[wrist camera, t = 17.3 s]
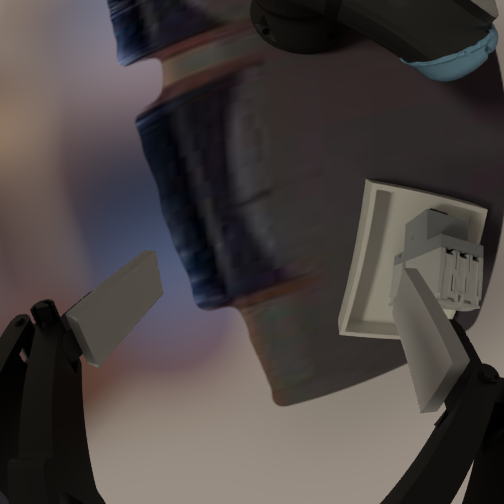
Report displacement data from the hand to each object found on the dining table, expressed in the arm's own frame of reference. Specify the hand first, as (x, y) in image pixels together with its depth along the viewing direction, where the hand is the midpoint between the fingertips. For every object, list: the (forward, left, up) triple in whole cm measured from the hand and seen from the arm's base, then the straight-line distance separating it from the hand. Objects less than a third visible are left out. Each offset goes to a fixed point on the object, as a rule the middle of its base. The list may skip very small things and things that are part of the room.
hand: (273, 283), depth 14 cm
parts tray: (+10, +21, -30) cm, 38 cm away
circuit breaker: (+10, +21, -29) cm, 37 cm away
